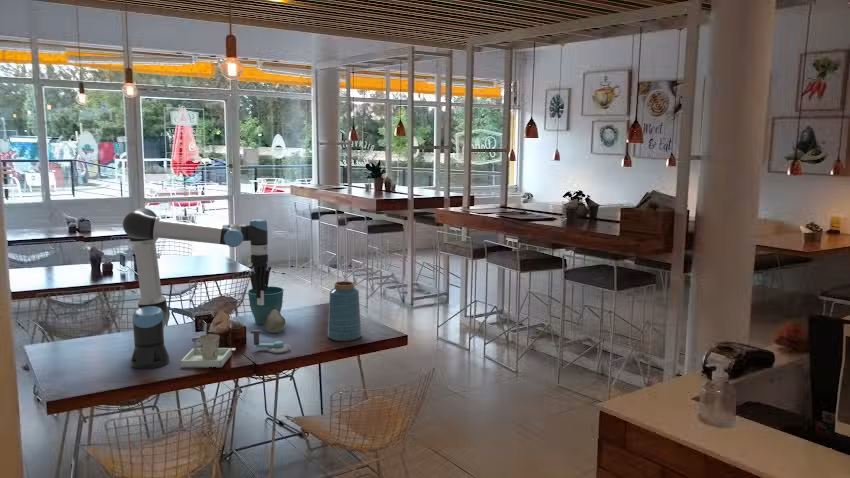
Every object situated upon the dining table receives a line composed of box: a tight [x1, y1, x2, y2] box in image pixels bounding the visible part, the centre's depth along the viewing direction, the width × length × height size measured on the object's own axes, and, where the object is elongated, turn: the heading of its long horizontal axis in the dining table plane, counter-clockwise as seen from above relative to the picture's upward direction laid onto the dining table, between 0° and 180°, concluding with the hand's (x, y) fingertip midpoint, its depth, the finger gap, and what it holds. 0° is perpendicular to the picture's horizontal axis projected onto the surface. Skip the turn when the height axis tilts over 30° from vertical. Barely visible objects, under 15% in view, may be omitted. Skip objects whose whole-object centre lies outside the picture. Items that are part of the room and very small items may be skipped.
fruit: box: [264, 307, 286, 334], centre depth 328 cm, size 10×9×12 cm
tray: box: [180, 347, 233, 369], centre depth 286 cm, size 17×17×3 cm
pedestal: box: [267, 343, 291, 354], centre depth 302 cm, size 10×10×2 cm
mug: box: [193, 333, 220, 360], centre depth 286 cm, size 8×13×10 cm, turn 72°
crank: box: [250, 329, 285, 348], centre depth 301 cm, size 15×4×8 cm, turn 93°
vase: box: [327, 280, 362, 342], centre depth 320 cm, size 16×16×27 cm
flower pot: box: [247, 285, 284, 326], centre depth 345 cm, size 18×18×17 cm
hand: (260, 304), depth 302 cm, fingers closed
